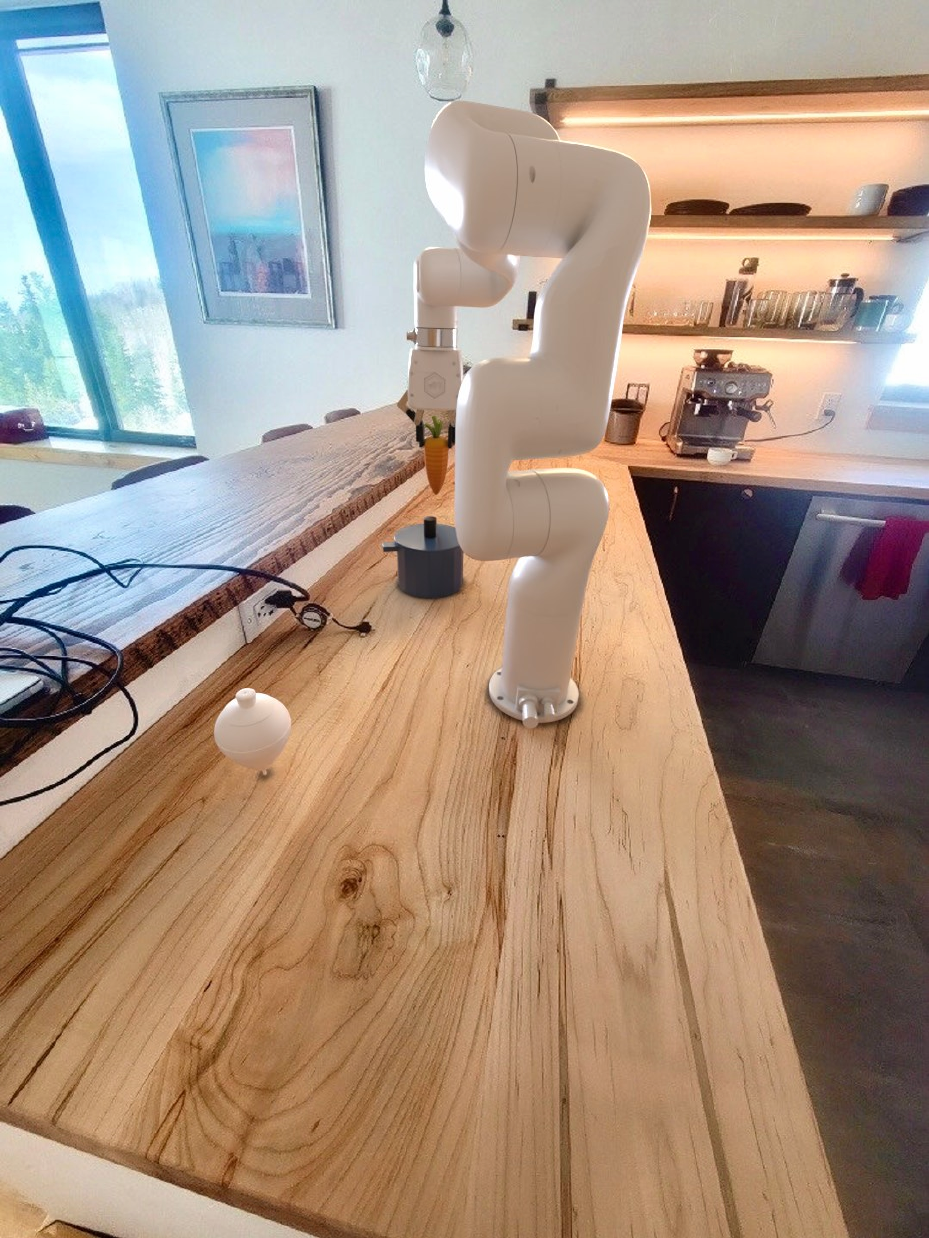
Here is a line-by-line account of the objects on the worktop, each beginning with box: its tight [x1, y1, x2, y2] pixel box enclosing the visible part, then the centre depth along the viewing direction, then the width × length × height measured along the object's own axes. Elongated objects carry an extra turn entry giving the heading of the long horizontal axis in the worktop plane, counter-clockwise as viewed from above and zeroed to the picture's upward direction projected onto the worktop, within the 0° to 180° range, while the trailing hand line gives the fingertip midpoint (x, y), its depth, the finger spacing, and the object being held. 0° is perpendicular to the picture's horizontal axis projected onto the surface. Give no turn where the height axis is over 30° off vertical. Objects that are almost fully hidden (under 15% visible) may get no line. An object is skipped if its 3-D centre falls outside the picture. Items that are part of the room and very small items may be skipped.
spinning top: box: [213, 687, 292, 776], centre depth 55 cm, size 8×8×12 cm
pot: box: [381, 541, 465, 599], centre depth 98 cm, size 13×18×10 cm
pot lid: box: [393, 515, 460, 553], centre depth 94 cm, size 14×14×5 cm
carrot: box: [423, 415, 449, 496], centre depth 99 cm, size 5×5×15 cm
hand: (436, 445), depth 98 cm, fingers closed on carrot, 4 cm apart
